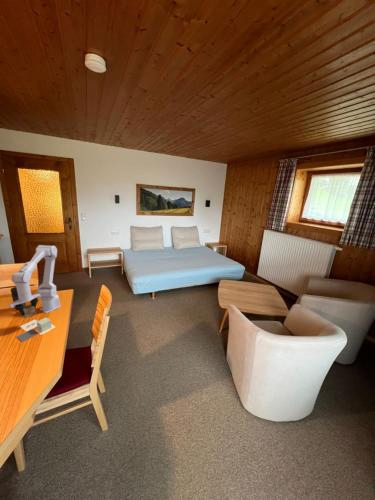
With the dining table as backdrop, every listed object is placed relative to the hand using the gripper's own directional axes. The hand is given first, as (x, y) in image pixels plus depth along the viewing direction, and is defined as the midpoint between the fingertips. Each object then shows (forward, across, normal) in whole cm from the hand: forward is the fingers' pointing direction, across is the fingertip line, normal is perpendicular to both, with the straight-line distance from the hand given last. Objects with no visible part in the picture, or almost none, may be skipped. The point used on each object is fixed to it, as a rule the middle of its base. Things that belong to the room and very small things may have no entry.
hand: (28, 312), depth 116 cm
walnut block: (+2, 0, 0) cm, 2 cm away
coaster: (+9, +6, +8) cm, 13 cm away
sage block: (+9, -3, +10) cm, 13 cm away
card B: (+9, -3, +10) cm, 13 cm away
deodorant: (+9, -5, -25) cm, 27 cm away
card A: (+9, 0, 0) cm, 9 cm away
